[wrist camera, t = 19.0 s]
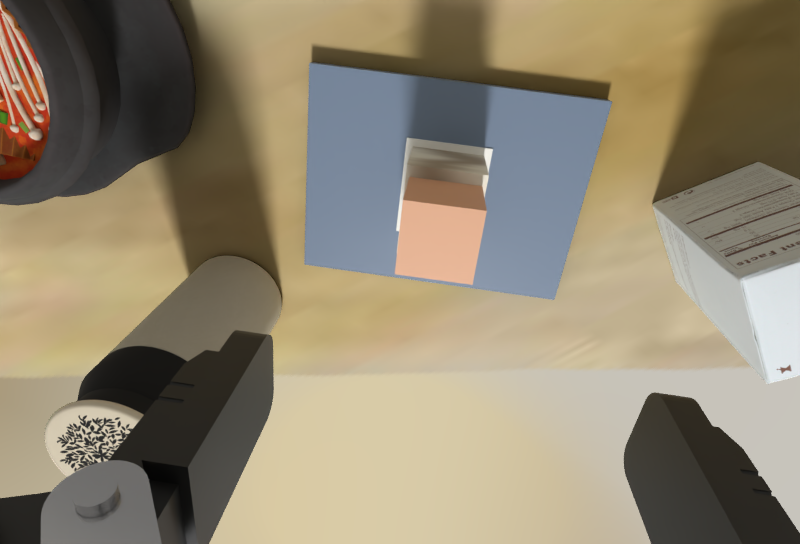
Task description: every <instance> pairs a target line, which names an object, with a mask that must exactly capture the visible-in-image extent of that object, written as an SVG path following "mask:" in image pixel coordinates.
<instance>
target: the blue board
mask: <svg viewBox="0 0 800 544" xmlns="http://www.w3.org/2000/svg"><path fill="white" fill-rule="evenodd" d="M611 104H612V101H610V100H607V99H599V98H591V97H584V96H576V95H568V94H560V93H552V92H544V91H537V90H529V89H521V88H513V87H505V86H497V85H490V84H482V83H474V82H466V81H458V80H450V79H443V78H435V77H427V76H419V75H411V74H404V73H396V72H388V71H380V70H372V69H364V68H357V67H349V66H341V65H333V64H325V63H317V62H311V63H309V102H308V142H307V183H306V224H305V265H312V266H319V267H326V268H333V269H341V270H348V271H355V272H362V273H369V274H376V275H383V276H390V277H397V278H404V279H411V280H418V281H425V282H432V283H439V284H446V285H453V286H460V287H467V288H475V289H482V290H489V291H496V292H503V293H510V294H517V295H524V296H531V297H538V298H545V299H552V300H554V299H555V295H556V292H557V289H558V285H559V282H560V278H561V275H562V272H563V268H564V265H565V261H566V258H567V254H568V251H569V248H570V244H571V241H572V237H573V234H574V231H575V227H576V224H577V220H578V217H579V213H580V210H581V207H582V203H583V200H584V196H585V193H586V189H587V186H588V183H589V179H590V176H591V172H592V169H593V166H594V162H595V159H596V155H597V152H598V148H599V145H600V142H601V138H602V135H603V131H604V128H605V124H606V121H607V118H608V114H609V111H610V107H611ZM413 146H415V147H423V148H430V149H437V150H445V151H452V152H460V153H467V154H475V155H482V156H484V157H485V161H486V165H487V169H488V174H489V178H488V183H487V188H486V193H485V203H486V209H487V213H486V218H485V223H484V228H483V233H482V239H481V244H480V249H479V254H478V259H477V264H476V269H475V275H474V280H473V285H470V284H462V283H455V282H448V281H440V280H433V279H426V278H418V277H411V276H404V275H396V274H395V267H396V258H397V245H398V237H399V229H400V220H401V212H402V203H403V195H404V187H405V178H406V170H407V163H408V160H409V157H410V154H411V151H412V148H413Z"/></svg>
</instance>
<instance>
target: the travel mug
mask: <svg viewBox="0 0 800 544" xmlns="http://www.w3.org/2000/svg"><path fill="white" fill-rule="evenodd" d="M281 309H282V300H281V295H280V292H279V289H278V287H277V285H276V283H275V281H274V280H273V279H272V277H271V276H270V275H269V274H268V273H267V272H266V271H265V270H264V269H263V268H261V267H260V266H259V265H257V264H255V263H254V262H252V261H249V260H247V259H244V258H241V257H237V256H218V257H214V258H211V259H209V260H207V261H205V262H204V263H202V264H201V265H200V266H199V267H198V268H197V269H196V270H195V271H194V272H193V273H192V274H191V275H190V276H189V277H188V278H187V279H186V280H185V281H184V282H182V283H181V284H180V285H179V286H178V287H177V288H176V289H175V290H174V291H173V292H172V293H171V294H170V295H169V296H168V297H167V298H166V299H165V300H164V301H163V302H162V303H161V304H160V305H159V306H158V307H157V308H156V309H154V310H153V311H152V312H151V313H150V314H149V315H148V316H147V317H146V318H145V319H144V320H143V321H142V322H141V323H140V324H139V325H138V326H137V327H136V328H135V329H134V330H133V331H132V332H131V333H130V334H129V335H128V336H127V337H125V338H124V339H123V340H122V341H121V342H120V343H119V344H118V345H117V346H116V347H115V348H114V349H113V350H112V351H111V352H110V353H109V354H108V355H107V356H106V357H105V358H104V359H103V360H102V361H101V362H100V363H99V364H98V365H96V366H95V367H94V368H93V369H92V370H91V371H90V372H89V373H88V374H87V375H86V377H85V378H84V380H83V381H82V384H81V387H80V390H79V395H78V400H77V401H76V402H72V403H69V404H67V405H65V406H63V407H61V408H60V409H58V410H57V411H56V412H55V413H54V414H53V415H52V416H51V417H50V419H49V421H48V423H47V425H46V428H45V444H46V447H47V450H48V453H49V455H50V457H51V459H52V460H53V462H54V463H55V465H56V466H57V467H58V468H59V469H60V471H61V472H62V473H64V475H65V476H67V477H68V476H70V475H71V474H73V473H75V472H76V471H78V470H80V469H82V468H84V467H87V466H89V465H92V464H95V463H99V462H104V461H108V460H109V458H110V457H111V456H112V455H113V454H114V452H115V451H116V450H117V448H118V447H119V446H120V445H121V443H122V442H123V441H124V440H125V438H126V437H127V436H128V434H129V433H130V432H131V431H132V429H133V428H134V427H135V426H136V424H137V423H138V422H139V421H140V419H141V418H142V417H143V415H144V414H145V413H146V412H147V410H148V409H149V408H150V407H151V405H152V404H153V403H154V401H155V400H158V398H159V395H160V394H161V393H162V391H163V390H164V389H165V388H166V386H167V385H170V382H171V380H172V379H173V377H174V376H175V375H176V374H177V372H178V371H179V370H180V368H181V367H182V366H183V365H184V363H186V362H188V361H189V360H191V359H192V358H194V357H195V356H197V355H199V354H200V353H202V352H203V351H205V350H211V351H218V352H219V351H220V349H221V348H222V346H223V345H224V344H225V342H226V341H227V339H228V338H229V337H230V335H231V334H232V333H233V332H234V331H235V330H240V331H247V332H254V333H261V334H267V335H269V334H270V332H271V331H272V329H273V327H274V326H275V324H276V322H277V320H278V318H279V316H280V313H281Z"/></svg>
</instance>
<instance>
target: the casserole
mask: <svg viewBox="0 0 800 544" xmlns="http://www.w3.org/2000/svg"><path fill="white" fill-rule="evenodd" d="M195 91H196V86H195V78H194V70H193V62H192V57H191V53H190V50H189V47H188V44H187V40H186V37H185V34H184V30H183V27H182V25H181V23H180V21H179V19H178V17H177V15H176V13H175V10H174V8H173V6H172V4H171V2H170V0H0V204H7V205H24V204H33V203H39V202H42V201H45V200H48V199H50V198H53V197H56V196H60V197H69V196H77V195H85V194H89V193H91V192H94V191H97V190H100V189H102V188H105V187H107V186H108V185H110V184H111V183H112V182H114V181H115V180H117V179H118V178H119V177H121V176H122V175H124V174H125V173H126V172H128V171H129V170H131V169H132V168H133V167H135V166H136V165H137V164H139V163H141V162H144V161H146V160H149V159H151V158H154V157H156V156H158V155H161V154H163V153H166V152H168V151H171V150H173V149H175V148H178V147H179V145H180V144H181V143H182V141H183V140H184V139H185V138H186V136H187V135H188V134H189V131H190V128H191V124H192V120H193V117H194V112H195Z"/></svg>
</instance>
